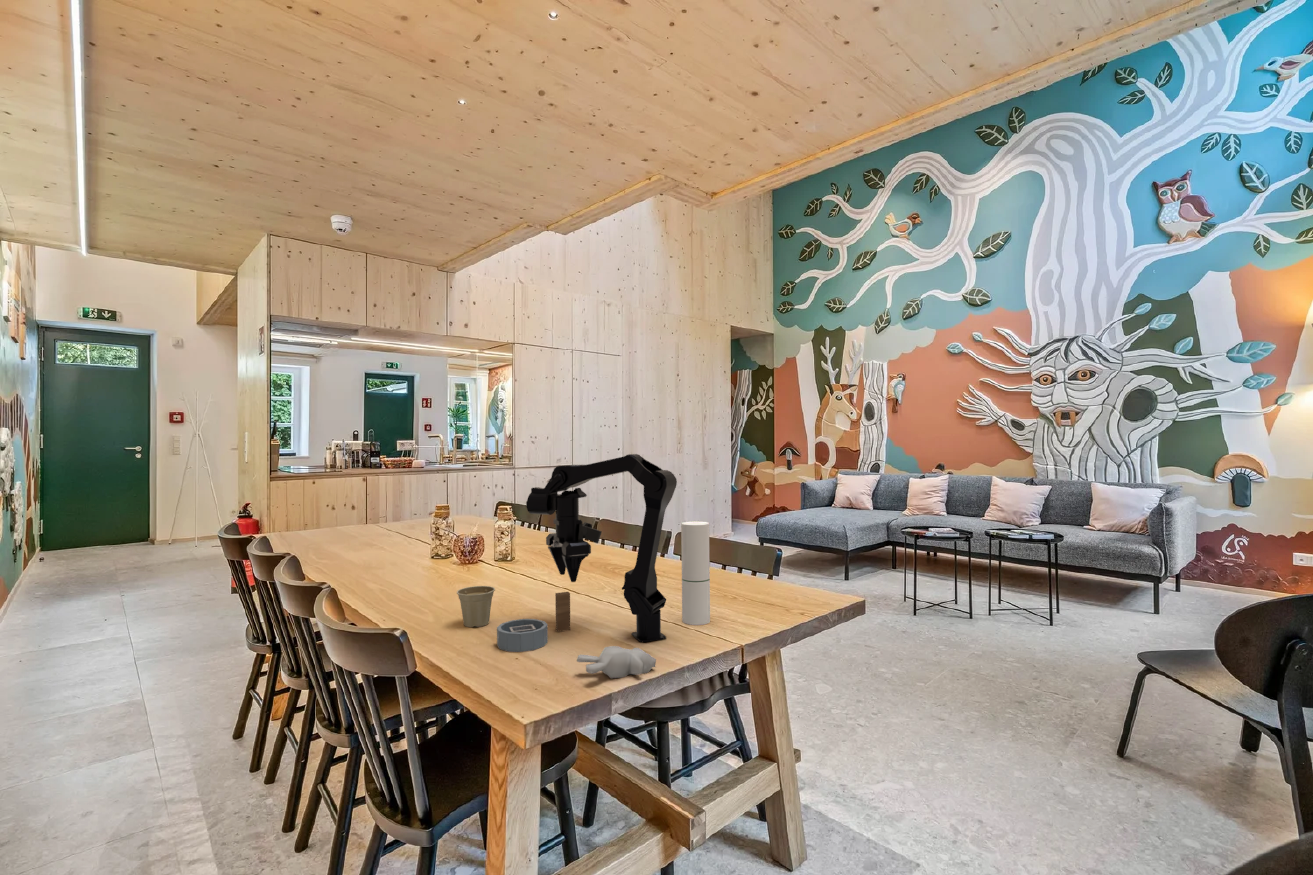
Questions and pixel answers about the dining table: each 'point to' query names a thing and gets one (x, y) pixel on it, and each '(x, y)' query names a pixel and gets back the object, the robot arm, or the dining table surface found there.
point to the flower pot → (476, 605)
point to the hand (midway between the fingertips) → (567, 578)
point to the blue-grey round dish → (522, 636)
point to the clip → (522, 628)
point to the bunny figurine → (619, 662)
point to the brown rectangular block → (562, 611)
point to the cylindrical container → (695, 573)
